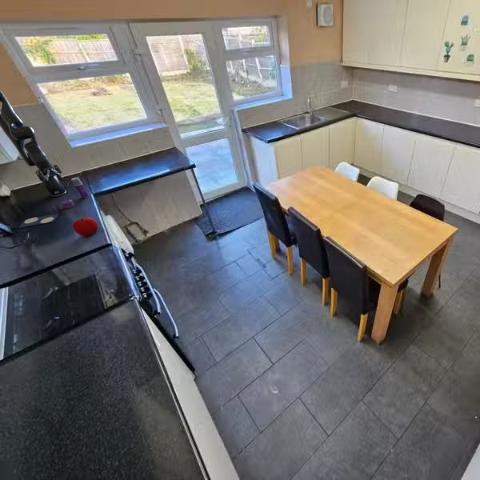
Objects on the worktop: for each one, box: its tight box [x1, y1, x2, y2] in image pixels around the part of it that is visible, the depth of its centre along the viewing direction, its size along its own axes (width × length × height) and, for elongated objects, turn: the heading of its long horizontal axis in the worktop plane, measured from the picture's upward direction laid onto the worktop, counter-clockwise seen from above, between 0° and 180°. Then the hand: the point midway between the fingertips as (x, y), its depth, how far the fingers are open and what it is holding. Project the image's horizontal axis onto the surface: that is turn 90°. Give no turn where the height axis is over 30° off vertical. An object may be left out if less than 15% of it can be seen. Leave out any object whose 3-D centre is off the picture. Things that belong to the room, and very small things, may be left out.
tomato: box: [72, 216, 99, 237], centre depth 165 cm, size 12×12×11 cm
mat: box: [17, 213, 60, 229], centre depth 181 cm, size 11×19×1 cm, turn 112°
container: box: [70, 176, 90, 199], centre depth 203 cm, size 5×5×15 cm
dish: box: [60, 199, 76, 210], centre depth 195 cm, size 6×6×4 cm
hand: (56, 183), depth 184 cm, fingers open, 8 cm apart
